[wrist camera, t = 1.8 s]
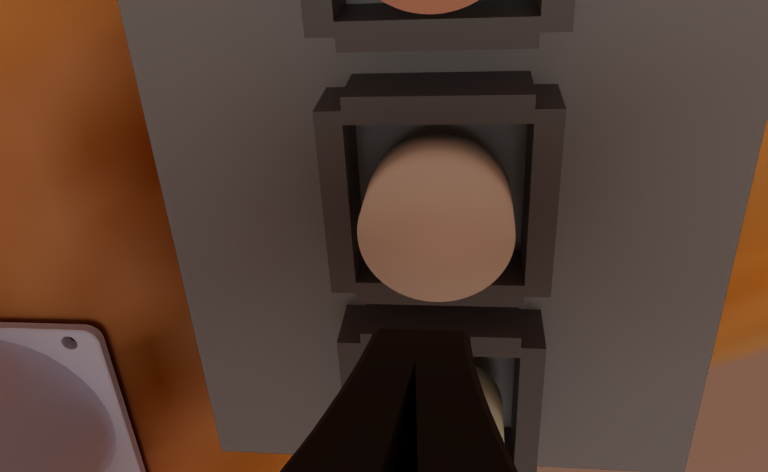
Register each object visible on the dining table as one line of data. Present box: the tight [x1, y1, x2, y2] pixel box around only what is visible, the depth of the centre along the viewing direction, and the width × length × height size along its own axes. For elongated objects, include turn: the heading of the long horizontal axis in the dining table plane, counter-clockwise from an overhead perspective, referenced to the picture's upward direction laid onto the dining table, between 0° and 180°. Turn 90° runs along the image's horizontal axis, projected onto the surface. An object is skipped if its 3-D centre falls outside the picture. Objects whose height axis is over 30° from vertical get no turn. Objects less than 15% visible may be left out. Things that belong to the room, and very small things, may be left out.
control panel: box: [118, 0, 768, 472], centre depth 15 cm, size 14×24×4 cm, turn 3°
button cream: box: [357, 133, 516, 302], centre depth 15 cm, size 3×3×2 cm
